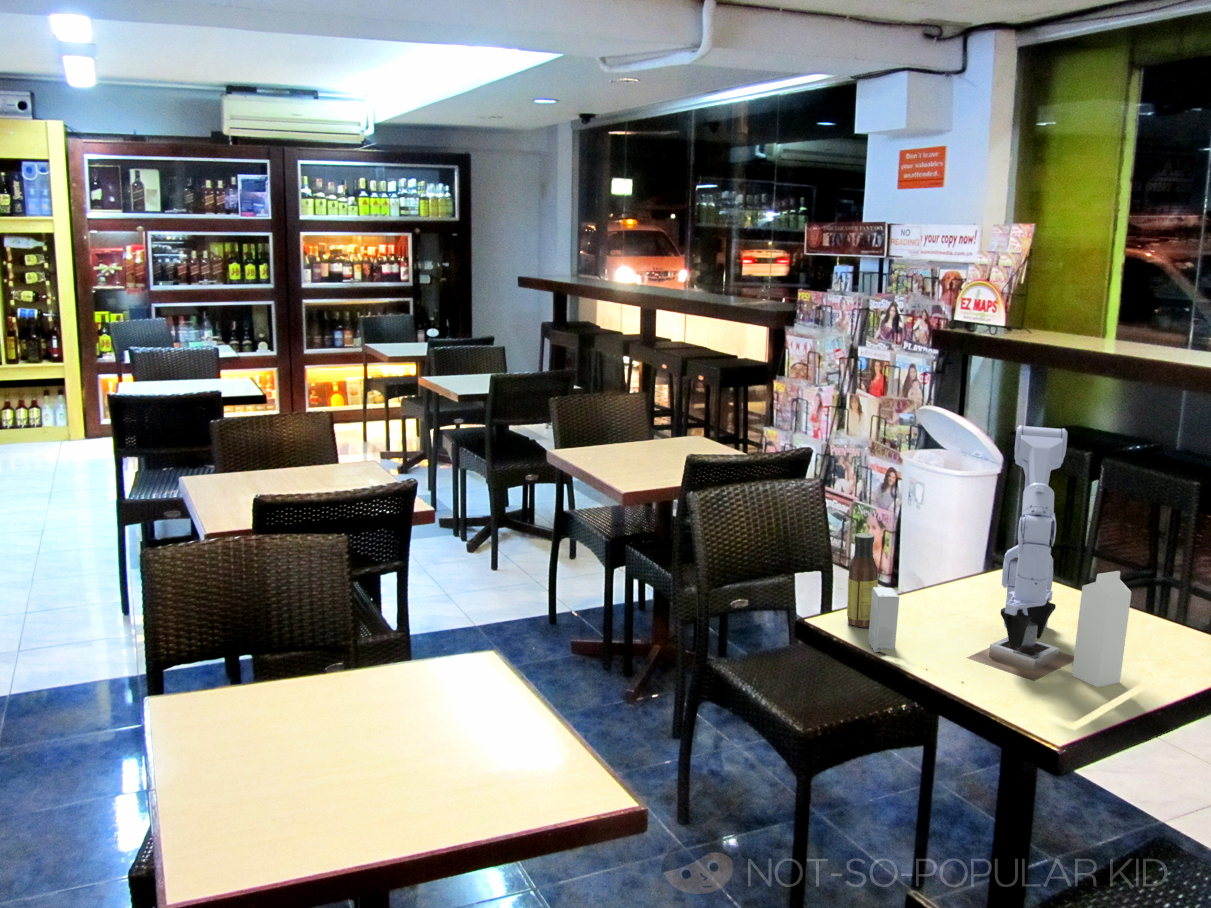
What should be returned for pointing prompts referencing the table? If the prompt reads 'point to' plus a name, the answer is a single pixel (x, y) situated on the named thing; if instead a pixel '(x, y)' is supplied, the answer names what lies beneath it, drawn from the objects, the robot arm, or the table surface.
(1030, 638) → the cylinder
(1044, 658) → the square metal frame
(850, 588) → the sauce bottle
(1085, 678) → the milk
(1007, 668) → the walnut base plate
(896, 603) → the skincare box
